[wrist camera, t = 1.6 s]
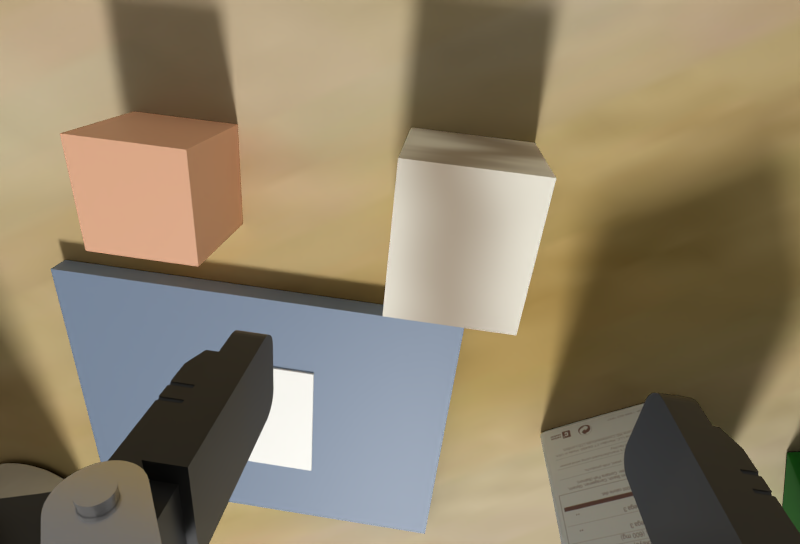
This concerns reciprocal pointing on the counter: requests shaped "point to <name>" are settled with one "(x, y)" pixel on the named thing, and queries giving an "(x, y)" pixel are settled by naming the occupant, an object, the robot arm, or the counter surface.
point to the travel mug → (25, 480)
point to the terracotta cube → (155, 186)
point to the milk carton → (792, 488)
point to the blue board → (277, 385)
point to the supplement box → (594, 480)
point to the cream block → (465, 229)
